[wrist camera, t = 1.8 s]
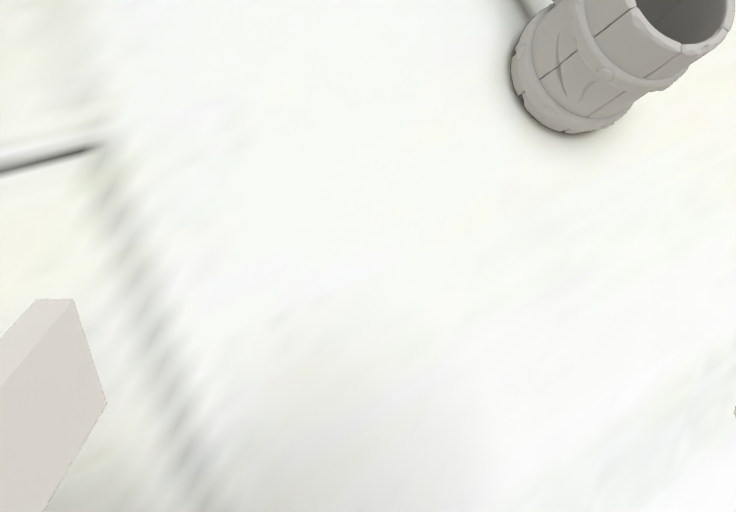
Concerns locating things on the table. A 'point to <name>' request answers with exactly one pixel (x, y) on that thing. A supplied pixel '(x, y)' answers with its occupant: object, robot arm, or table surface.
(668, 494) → the table surface
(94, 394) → the robot arm
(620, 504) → the table surface
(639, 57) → the mug
